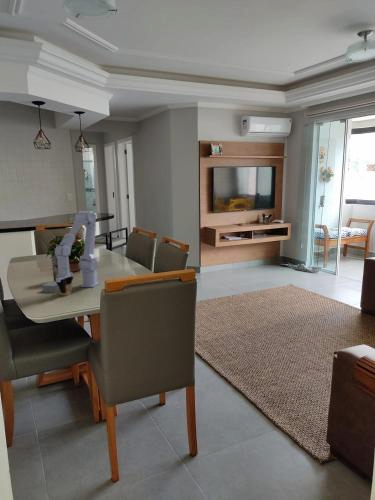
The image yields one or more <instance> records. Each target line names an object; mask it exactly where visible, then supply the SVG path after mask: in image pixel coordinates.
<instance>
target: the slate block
mask: <svg viewBox="0 0 375 500" xmlns="http://www.w3.org/2000/svg"><path fill="white" fill-rule="evenodd" d="M41 286H42V287H41V289H42V292H45V293H57V292H59V286H58V285H57V283H56V282H54V281H49V282H46V283H43V284H42V285H41Z"/></svg>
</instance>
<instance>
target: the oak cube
mask: <svg viewBox="0 0 375 500" xmlns="http://www.w3.org/2000/svg"><path fill="white" fill-rule="evenodd" d="M58 293H59V294H58V295H59V296H69V295H71V294H73V284H72V283H71V284H66V290H65V293H61V291H60V289H59V291H58Z"/></svg>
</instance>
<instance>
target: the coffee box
mask: <svg viewBox="0 0 375 500" xmlns="http://www.w3.org/2000/svg"><path fill="white" fill-rule="evenodd" d="M51 265H52V276H53V282H56V278H57V275H59V271H58V260H57V257H56V255H52V256H51Z"/></svg>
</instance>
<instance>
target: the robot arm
mask: <svg viewBox="0 0 375 500" xmlns="http://www.w3.org/2000/svg"><path fill="white" fill-rule="evenodd" d="M96 219H97V215H96V213H94V211H92V210H89V211H88V210H87V211H86V210H78V211H77V212H76V214H75V216H74V221H73V223H72V226H71V227H70V229H69V231H68V233H66V234H64V235H63V238H62V239H61V242H60V243H59V245H57V246H56V247H55V248H54V251H53V252H54V256H56V257H57V260H58V271H59V275H57V278H56V283H57V285H58V286H59V289H60V291H61V293H65V290H66V284H72V282H73V279H74V274H73V271H71V270H70V263H69V262H70V261H69V256H70V254H71V251H72V246H73V244H74V243H75V240H76V234H77V233H78V231H79V230H80V229H81V228H82V226H84V227H85V238H84V246H83V247H84V248H83V254H82V255H81V256H80V259H79V262H78V268H79V270H81V272H82V275H81V276H82V284H81V285H80V287H81V288H93V287H94V288H95V286H97V285H99V284H100V281H98V272H97V268H98V259H97V257H96V256H95V255H94V252H95V241H96V230H97V229H96V228H97V223H96V221H97V220H96Z"/></svg>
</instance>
